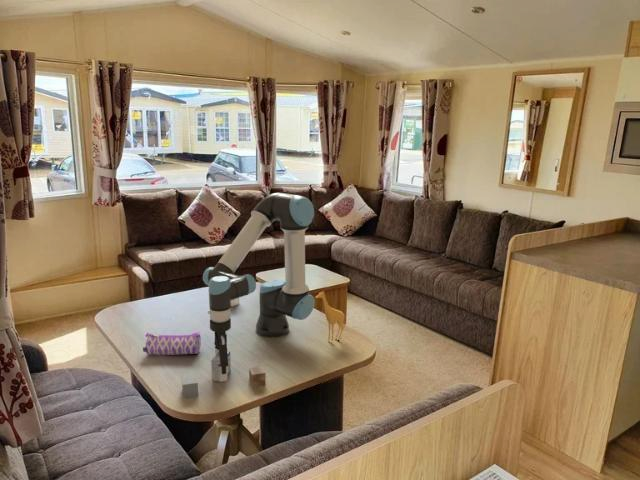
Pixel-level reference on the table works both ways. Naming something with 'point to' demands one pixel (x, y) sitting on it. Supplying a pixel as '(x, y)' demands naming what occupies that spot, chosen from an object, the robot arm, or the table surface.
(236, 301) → the jar
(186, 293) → the table surface
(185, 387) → the slate grey block
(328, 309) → the giraffe
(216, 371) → the medicine box
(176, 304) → the table surface
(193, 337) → the pencil case
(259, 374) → the walnut block
